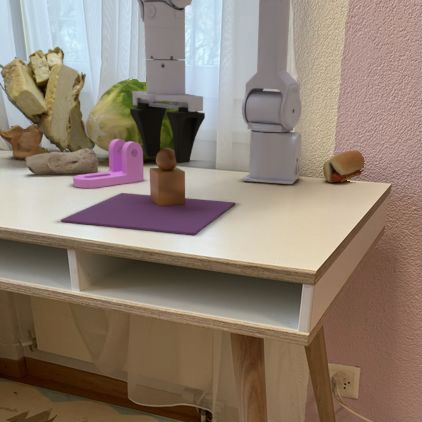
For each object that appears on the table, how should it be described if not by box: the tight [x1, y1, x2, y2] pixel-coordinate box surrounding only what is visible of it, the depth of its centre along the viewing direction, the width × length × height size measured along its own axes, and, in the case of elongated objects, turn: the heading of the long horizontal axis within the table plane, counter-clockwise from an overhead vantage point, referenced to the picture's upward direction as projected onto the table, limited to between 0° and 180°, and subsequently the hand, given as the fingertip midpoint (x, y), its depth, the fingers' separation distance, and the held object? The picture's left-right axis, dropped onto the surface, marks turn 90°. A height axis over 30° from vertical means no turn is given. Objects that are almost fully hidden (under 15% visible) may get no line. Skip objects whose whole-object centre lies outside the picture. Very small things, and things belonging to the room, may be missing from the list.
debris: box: [0, 46, 96, 153], centre depth 129 cm, size 26×30×14 cm
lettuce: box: [85, 78, 178, 162], centre depth 131 cm, size 17×23×17 cm
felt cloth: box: [60, 192, 236, 236], centre depth 91 cm, size 20×20×1 cm
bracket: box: [72, 139, 145, 189], centre depth 110 cm, size 13×6×7 cm, turn 134°
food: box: [322, 149, 365, 183], centre depth 118 cm, size 14×6×5 cm
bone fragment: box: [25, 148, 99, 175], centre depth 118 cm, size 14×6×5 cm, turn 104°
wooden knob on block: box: [149, 148, 186, 206], centre depth 94 cm, size 4×4×8 cm
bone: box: [0, 123, 49, 161], centre depth 134 cm, size 12×10×8 cm
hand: (167, 159), depth 93 cm, fingers open, 7 cm apart
